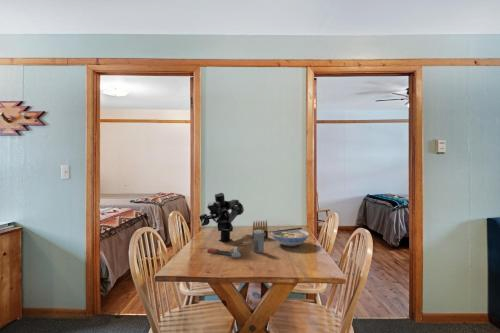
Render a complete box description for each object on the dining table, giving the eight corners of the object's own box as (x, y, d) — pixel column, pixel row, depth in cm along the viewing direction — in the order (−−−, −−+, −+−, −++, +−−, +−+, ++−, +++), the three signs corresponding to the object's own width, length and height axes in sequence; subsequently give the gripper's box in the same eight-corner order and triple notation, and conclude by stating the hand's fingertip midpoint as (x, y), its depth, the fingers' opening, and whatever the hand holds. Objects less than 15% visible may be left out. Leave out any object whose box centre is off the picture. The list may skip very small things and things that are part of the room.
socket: (253, 252, 149) (253, 230, 149) (259, 250, 152) (259, 229, 152) (258, 253, 146) (258, 231, 146) (263, 252, 149) (263, 230, 149)
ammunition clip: (253, 239, 178) (253, 221, 178) (252, 238, 179) (252, 220, 180) (268, 238, 181) (268, 220, 181) (267, 237, 183) (267, 219, 183)
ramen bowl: (280, 252, 149) (280, 237, 149) (263, 242, 170) (263, 229, 170) (318, 247, 158) (318, 233, 158) (297, 238, 179) (297, 226, 179)
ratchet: (209, 251, 151) (209, 242, 151) (243, 254, 145) (243, 245, 145) (203, 254, 145) (203, 245, 145) (238, 258, 138) (238, 248, 138)
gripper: (201, 203, 167) (189, 214, 153) (227, 196, 161) (217, 207, 146) (208, 219, 169) (197, 231, 155) (234, 213, 163) (225, 225, 148)
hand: (208, 223), depth 151 cm, fingers open, 9 cm apart
